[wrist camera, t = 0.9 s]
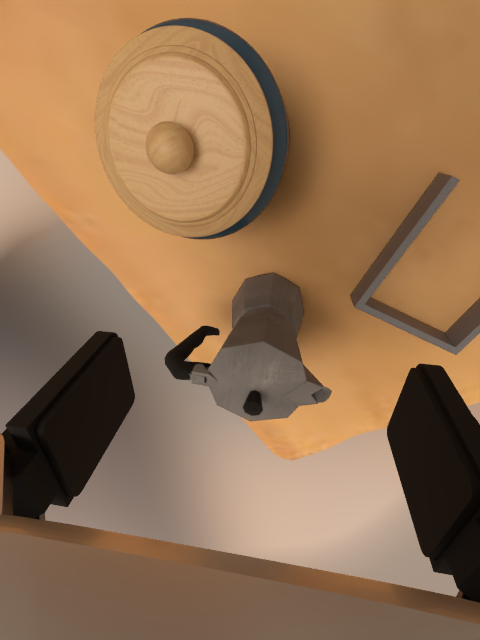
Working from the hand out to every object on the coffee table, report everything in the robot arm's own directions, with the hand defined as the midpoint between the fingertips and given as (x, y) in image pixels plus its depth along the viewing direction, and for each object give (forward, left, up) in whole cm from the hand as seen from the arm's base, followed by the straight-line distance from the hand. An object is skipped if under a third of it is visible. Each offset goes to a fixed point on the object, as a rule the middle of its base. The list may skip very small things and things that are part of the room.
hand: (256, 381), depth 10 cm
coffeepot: (+12, +3, -28) cm, 30 cm away
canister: (-3, -8, -28) cm, 29 cm away
